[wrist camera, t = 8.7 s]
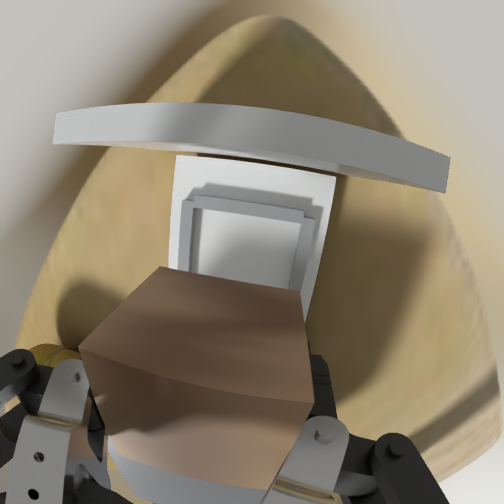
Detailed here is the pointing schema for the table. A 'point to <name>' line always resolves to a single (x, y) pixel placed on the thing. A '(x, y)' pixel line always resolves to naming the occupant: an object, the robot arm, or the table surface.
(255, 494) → the grey open box
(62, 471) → the robot arm
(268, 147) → the grey flat-panelled piece
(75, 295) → the table surface
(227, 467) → the block
